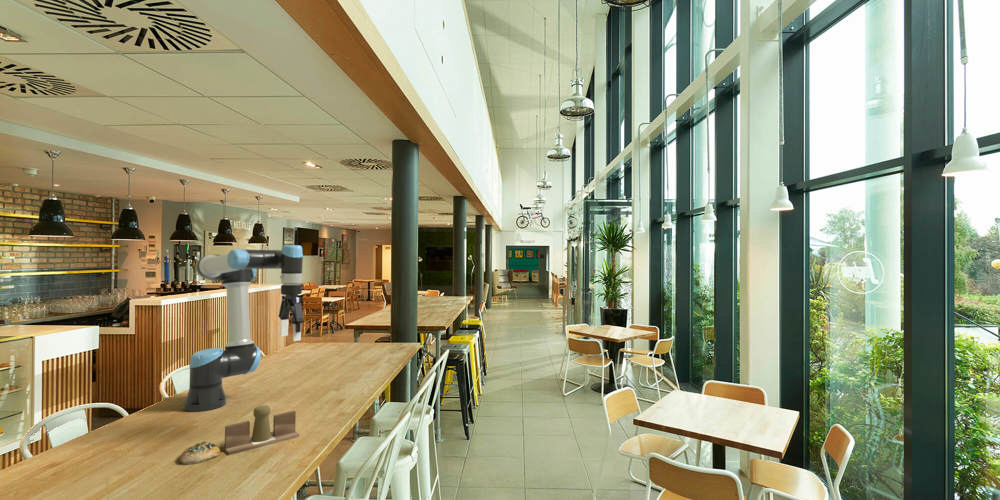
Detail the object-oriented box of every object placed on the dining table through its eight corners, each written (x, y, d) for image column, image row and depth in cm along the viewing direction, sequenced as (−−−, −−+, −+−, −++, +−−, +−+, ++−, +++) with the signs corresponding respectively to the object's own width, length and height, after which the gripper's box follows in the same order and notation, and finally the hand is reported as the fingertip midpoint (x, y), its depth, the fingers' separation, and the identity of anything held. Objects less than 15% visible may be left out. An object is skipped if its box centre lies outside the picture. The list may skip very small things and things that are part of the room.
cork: (275, 436, 157) (275, 404, 158) (260, 443, 152) (261, 410, 152) (261, 434, 159) (262, 402, 160) (247, 440, 154) (247, 408, 154)
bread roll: (195, 448, 149) (197, 433, 149) (227, 454, 148) (229, 439, 148) (169, 465, 138) (171, 449, 138) (203, 471, 137) (205, 455, 137)
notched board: (221, 446, 151) (222, 423, 151) (289, 429, 166) (290, 408, 166) (228, 455, 144) (229, 430, 145) (299, 436, 160) (299, 414, 160)
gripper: (270, 282, 184) (269, 335, 184) (293, 286, 166) (292, 344, 166) (289, 282, 189) (288, 333, 189) (313, 285, 172) (312, 341, 171)
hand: (290, 338), depth 178 cm, fingers open, 13 cm apart
